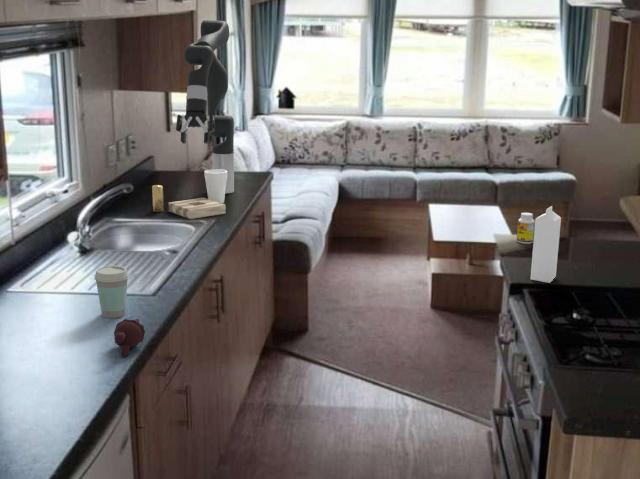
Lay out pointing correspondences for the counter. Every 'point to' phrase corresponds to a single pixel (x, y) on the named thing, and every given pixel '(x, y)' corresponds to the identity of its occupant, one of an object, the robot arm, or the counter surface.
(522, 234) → the supplement bottle
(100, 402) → the counter surface
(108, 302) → the coffee cup
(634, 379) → the counter surface
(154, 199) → the brass cylinder
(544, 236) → the milk
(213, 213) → the plate
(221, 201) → the foam cup
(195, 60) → the robot arm
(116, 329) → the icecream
